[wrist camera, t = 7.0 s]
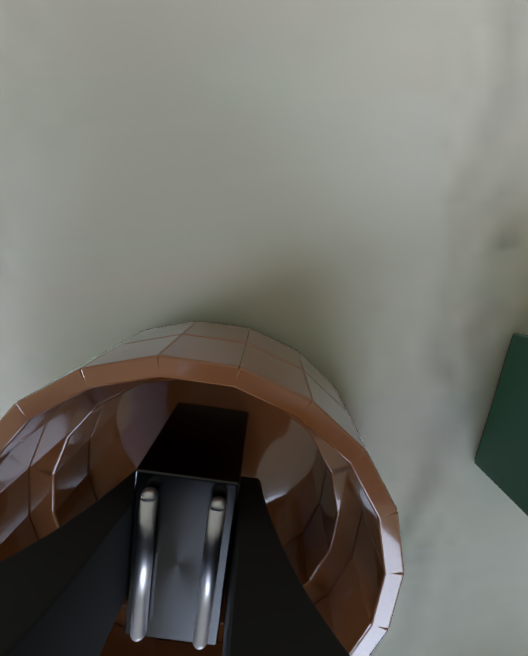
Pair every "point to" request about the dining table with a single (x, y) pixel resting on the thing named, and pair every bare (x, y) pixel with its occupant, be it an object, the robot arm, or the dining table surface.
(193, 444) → the black clip
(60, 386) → the bowl
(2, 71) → the dining table surface
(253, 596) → the robot arm
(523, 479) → the green clip
